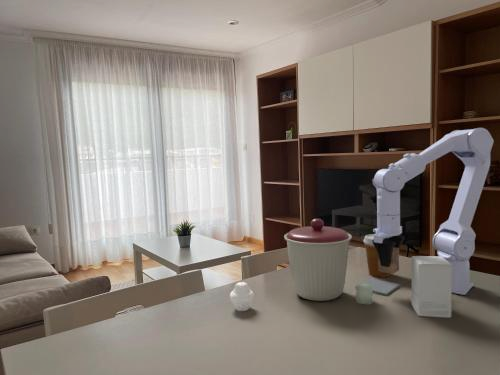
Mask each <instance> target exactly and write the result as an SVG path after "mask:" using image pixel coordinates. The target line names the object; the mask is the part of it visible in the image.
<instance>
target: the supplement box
mask: <svg viewBox="0 0 500 375" xmlns="http://www.w3.org/2000/svg"><path fill="white" fill-rule="evenodd" d="M451 284H452V264H450V263H449V262H448V261H447V260H446V259H444V258H443V257H442V256H438V255H437V256H436V255H435V256H434V255H433V256H431V255H428V256H427V255H414V256H413V255H412V256H411V301H410V302H411V305H412V308H413V309H414V311H415V312H416V314H417V316H418V317H434V318H449V319H450V318H452V292H451Z"/></svg>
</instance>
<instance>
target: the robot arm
mask: <svg viewBox="0 0 500 375" xmlns="http://www.w3.org/2000/svg"><path fill="white" fill-rule="evenodd" d="M494 142H495V141H494V139H493V137H492V135H491V133H490V131H488V129H487V128H484V127H477V128H473V129H472V128H471V129H463V130H462V129H461V130H460V129H456V130H453V131H451V132H450V133H447V134H445V135H444V136H443V137H442V138H441V139H439V140H438V141H435V142H434V143H433V144H432V145H430V146H429V147H427V148H425V149H424V150H422V151H421V152H419V153H415V152H412V153H405V154H404V155H403V156H402V157H403V158H401V159H399V160H398V161H396V162H392V163H390V164H388V168H382V169H379V170H378V171H376V173H375V174H374V177H373V178H372V180H371V181H372V184H373V186H374V187H375V189H376V209H377V210H376V217H377V218H376V221H377V222H376V227H375V228H373V230H372V232H373V233H374V234H375V235H374V239H373V240H372V243H373V245H374V246H375V248H376V250H377V253H378V256H379V260H380V264H381V266H384V267H389V266H390V263H391V255H392V251H393V248H399V250H401V246H402V244H403V242H404V240H405V236H404V235H401V234H402V233H403V226H402V225H401V190H402V189H403V188H404V186H405V183H407V182H409V181H410V180H412V179H413V178H415V177H417V176H418V175H420V174H422V173H423V172H424V171H425V170H426V165H428V164H429V163H431V162H434V161H436V160H437V159H439V158H441V157H443V156H444V155H447V154H449V153H450V152H451V153H453V154H454V155H455V156H456V157H457V158H458V159H460V161H462V163H463V164H464V171H463V173H462V176H461V180H460V182H459V186H458V189H457V192H456V195H455V199H454V200H453V201H454V202H453V204H452V208H451V210H450V212H449V213H450V214H449V217H448V219H447V220H446V221H444V222H443V223H441V224H440V225H439V228H438V230H437V232H436V233H434V235H433V238H432V246H433V247H434V249H435V250H436V253H437V254H436V255H437V256H442V257H443V258H444V259H446V260H447V261H448V262H449V263H450V264H452V284H451V294H458V295H462V296H463V295H467V293H468V292H469V291H470V290H471V289H472V287H473V286H474V283H473V282H471V283H470V266H471V265H470V258H471V257H472V256H473V254H474V253H475V250H476V247H475V246H476V245H475V244H476V243H475V242H476V241H475V240H476V237H477V235H476V233H475V231H474V229H473V227H471V226H472V222H473V220H474V216H475V213H476V210H477V206H478V203H479V200H480V198H481V194H482V192H483V188H484V185H485V182H486V179H487V176H488V173H489V170H490V167H491V151H492V148H493V145H494Z"/></svg>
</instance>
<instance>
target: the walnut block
mask: <svg viewBox="0 0 500 375" xmlns="http://www.w3.org/2000/svg"><path fill="white" fill-rule="evenodd" d="M378 271H381V272H386V273H390V274H392V275H394V274H395V273H397V272H398V271H400V249H399V248H393V251H392V255H391V263H390V266H389V267H384V266H381V264H380V260H379V256H378Z"/></svg>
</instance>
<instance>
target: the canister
mask: <svg viewBox="0 0 500 375" xmlns="http://www.w3.org/2000/svg"><path fill="white" fill-rule="evenodd" d="M324 224H325V223H324V220H322V219H321V218H313V219H312V220H311V221H310V226H301V227H297V228H293V229H292V230H290V231H289V232H287V233H286V234H284V236H283V237H284V240H285V241H286V245H287V255H288V260H289V269H290V274H291V282H292V286H293V289H294V292H295V293H296V294H297V295H298V296H299V297H301V298H303V299H306V300H309V301H314V302H316V301H317V302H322V301H323V302H325V301H331V300H335V299H337V298H338V297H340V296H341V294H343V292H344V289H345V284H346V275H347V268H348V267H347V266H348V256H349V248H350V246H349V245H350V241H351V240H352V238H353V235H352V234H350V233H349V232H348V231H346V230H344V229H342V228H340V227H339V228H338V227H334V226H333V227H332V226H325V225H324Z"/></svg>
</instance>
